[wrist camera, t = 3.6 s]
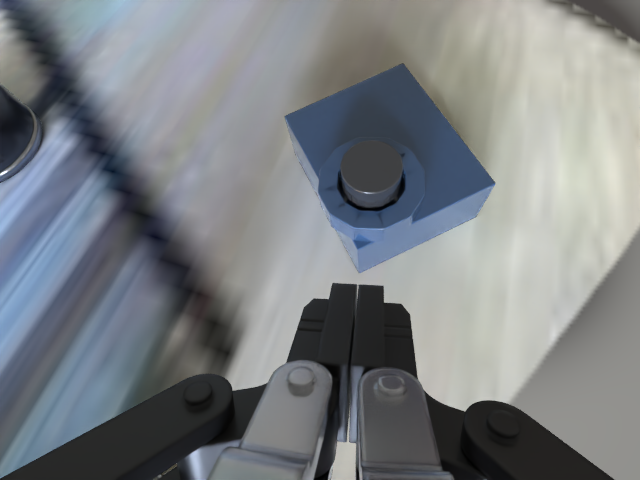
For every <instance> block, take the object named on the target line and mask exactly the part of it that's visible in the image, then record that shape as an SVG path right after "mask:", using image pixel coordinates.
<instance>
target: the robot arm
mask: <svg viewBox="0 0 640 480" xmlns="http://www.w3.org/2000/svg"><path fill="white" fill-rule="evenodd" d="M41 138H42V124H41V121H40V119H39V117H38V116H37V114H36V113H35V112H33V111H32V110H31V109H30V108H29V107H28V106H27V105H25V104H24V103H22V102H21V101H20V100H19V99H18V98H17V97H15V96H14V95H13V94H12V93H11V92H10V91H9V90H7V89H6V88H5V87H4V86H3V85H2V84H1V83H0V183H1V182H3V181H5V180H7V179H9V178H11V177H12V176H14V175H15V174H16V173H18V172H19V171H20V170H21V169H22V168H24V167H25V166H26V165H27V163H28V162H29V161H30V160H31V159H32V157H33V156H34V154H35V153H36V151H37V149H38V147H39V145H40V142H41ZM349 408H350V428H349V442H350V443H356V469H355V480H614V479H613V478H611V477H610V476H609V475H607V474H606V473H605V472H603V471H602V470H601V469H599V468H598V467H597V466H595V465H594V464H593V463H591V462H590V461H588V460H587V459H586V458H585V457H583V456H582V455H581V454H579V453H578V452H577V451H575V450H574V449H573V448H571V447H570V446H568V445H567V444H566V443H564V442H563V441H562V440H560V439H559V438H558V437H556V436H555V435H554V434H552V433H551V432H550V431H548V430H547V429H546V428H544V427H543V426H542V425H540V424H539V423H538V422H536V421H535V420H534V419H532V418H531V417H530V416H528V415H527V414H525V413H524V412H522V411H521V410H519V409H517V408H516V407H514V406H511V405H509V404H506V403H503V402H498V401H489V400H487V401H480V402H476V403H474V404H472V405H471V406H470V407H469V408H468V409H467V410H466V412H464V411H461V410H458V409H455V408H452V407H450V406H447V405H444V404H442V403H440V402H438V401H436V400H435V399H433V398H432V397H431V396H429V395H428V394H427V393H426V392H425V391H424V390H423V387H422V385H421V384H420V382H419V381H418V377H417V370H416V362H415V353H414V345H413V339H412V329H411V320H410V314H409V313H408V312H407V310H406V309H405V308H404V307H403V305H402V304H395V303H384V287H383V286H376V285H359V289H358V299H357V284H339V283H333V284H332V288H331V292H330V297H329V299H313V300H312V301H311V302H310V303H309V304H308V305H306V306H305V307H304V309H303V312H302V316H301V319H300V322H299V325H298V328H297V331H296V334H295V337H294V340H293V343H292V347H291V350H290V353H289V356H288V359H287V362H286V364H284V365H282V366H280V367H279V368H278V369H276V370H275V371H274V373H273V374H272V376H271V378H270V380H269V382H268V383H266V384H264V385H261V386H258V387H254V388H248V389H242V390H236V391H232V386H231V384H230V383H229V381H228V380H226V379H225V378H224V377H221V376H219V375H215V374H200V375H196V376H192V377H189V378H187V379H185V380H183V381H181V382H179V383H177V384H175V385H174V386H172V387H170V388H168V389H166V390H164V391H162V392H161V393H159V394H157V395H155V396H153V397H151V398H149V399H148V400H146V401H144V402H142V403H140V404H138V405H136V406H134V407H133V408H131V409H129V410H127V411H125V412H123V413H121V414H120V415H118V416H116V417H114V418H112V419H110V420H108V421H107V422H105V423H103V424H101V425H99V426H97V427H95V428H94V429H92V430H90V431H88V432H86V433H84V434H82V435H80V436H79V437H77V438H75V439H73V440H71V441H69V442H67V443H66V444H64V445H62V446H60V447H58V448H56V449H54V450H53V451H51V452H49V453H47V454H45V455H43V456H41V457H40V458H38V459H36V460H34V461H32V462H30V463H28V464H27V465H25V466H23V467H21V468H19V469H17V470H15V471H13V472H12V473H10V474H8V475H6V476H4V477H2V478H0V480H152V479H154V478H155V477H157V476H158V475H160V474H161V473H163V472H164V471H166V470H167V469H169V468H170V467H172V466H173V465H175V464H176V463H177V466H176V467H175V468H174V469H172V470H171V471H169V472H168V473H166V474H165V475H163V476H162V477H160V478H159V479H157V480H331V477H332V471H333V462H334V460H335V454H336V446H337V441H339V442H346V441H347V430H348V419H349Z"/></svg>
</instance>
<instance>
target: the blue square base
mask: <svg viewBox="0 0 640 480" xmlns="http://www.w3.org/2000/svg"><path fill="white" fill-rule="evenodd" d="M285 120H286V124H287V127H288V131H289V134H290V138H291V141H292V145H293V148H294V152H295V155H296V157H297V159H298V161H299V162H300V164H301V166H302V168H303V170H304V172H305V174H306V176H307V177H308V179H309V181H310V183H311V185H312V187H313V189H314V190H315V192H316V194H317V196H318V198H319V200H320V204H321V207H322V209H323V211H324V213H325V215H326V217H327V219H328V220H329V222H330V224H331V226H332V227H333V228H334V229H335V230H336V231H337V233H338V235H339V237H340V239H341V241H342V243H343V245H344V246H345V248H346V250H347V252H348V254H349V256H350V258H351V259H352V261H353V263H354V265H355V267H356V269H357V271H358V272H359V273H361V272H363V271H365V270H367V269H369V268H372V267H374V266H376V265H378V264H380V263H382V262H384V261H386V260H388V259H390V258H392V257H394V256H396V255H398V254H400V253H402V252H405V251H407V250H409V249H411V248H413V247H415V246H417V245H419V244H421V243H423V242H425V241H427V240H429V239H431V238H433V237H435V236H438V235H440V234H442V233H444V232H446V231H448V230H450V229H452V228H454V227H456V226H458V225H460V224H462V223H464V222H466V221H468V220H471V219H473V218H475V217H476V216H477V215H478V213H479V211H480V210H481V208H482V206H483V204H484V203H485V201H486V199H487V198H488V196H489V194H490V192H491V191H492V189H493V187H494V186H495V182H494V181H493V179H492V178H491V177H490V175H489V174H488V173H487V171H486V170H485V169H484V168H483V166H482V165H481V164H480V162H479V161H478V160H477V158H476V157H475V156H474V155H473V153H472V152H471V151H470V149H469V148H468V147H467V145H466V144H465V143H464V142H463V140H462V139H461V138H460V136H459V135H458V134H457V132H456V131H455V130H454V129H453V127H452V126H451V125H450V123H449V122H448V121H447V119H446V118H445V117H444V116H443V114H442V113H441V112H440V110H439V109H438V108H437V106H436V105H435V104H434V103H433V101H432V100H431V99H430V97H429V96H428V95H427V93H426V92H425V91H424V90H423V88H422V87H421V86H420V84H419V83H418V82H417V80H416V79H415V78H414V77H413V75H412V74H411V73H410V71H409V70H408V69H407V67H406V66H405V65H404V64H403V63H402V64H400V65H398V66H395V67H393V68H391V69H389V70H387V71H384V72H382V73H380V74H378V75H375V76H373V77H371V78H369V79H366V80H364V81H362V82H360V83H357V84H355V85H353V86H351V87H349V88H346V89H344V90H342V91H340V92H337V93H335V94H333V95H331V96H328V97H326V98H324V99H322V100H320V101H317V102H315V103H313V104H311V105H308V106H306V107H304V108H302V109H299V110H297V111H295V112H293V113H290V114H288V115H286V116H285ZM371 140H374V141H381V142H384V143H387V144H389V145H390V146H392V147H393V148H394V149H395V150H396V151H397V152H398V153H399V155H400V156H401V159H402V162H403V172H402V179H401V185H400V190H399V192H398V194H397V196H396V197H395V199H394V200H393V201H392V202H390V203H389V204H387V205H386V206H383V207H381V208H377V209H365V208H361V207H358V206H356V205H354V204H353V203H352V202H350V201H349V200H348V199H347V197H346V196H345V194H344V192H343V188H342V180H341V171H340V165H341V161H342V158H343V156H344V155H345V153H346V152H347V151H348V150H349V149H350V148H351V147H352V146H354V145H356V144H358V143H360V142H364V141H371Z"/></svg>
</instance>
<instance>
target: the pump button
mask: <svg viewBox="0 0 640 480" xmlns="http://www.w3.org/2000/svg"><path fill="white" fill-rule="evenodd" d="M340 171H341V180H342V188H343V192H344V194H345V196H346V197H347V199H348V200H349V201H350V202H352V203H353V204H354V205H356V206H358V207H361V208H365V209H377V208H381V207H383V206H386V205H387V204H389V203H390V202H392V201H393V200H394V199H395V197H396V196H397V194H398V192H399V190H400V185H401V179H402V172H403V162H402V159H401V156H400V155H399V153H398V152H397V151H396V150H395V149H394V148H393V147H392V146H390V145H389V144H387V143H384V142H381V141H374V140H371V141H364V142H360V143H358V144H356V145H354V146H352V147H351V148H350V149H349V150H348V151H347V152H346V153H345V155H344V156H343V158H342V161H341V165H340Z"/></svg>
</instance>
